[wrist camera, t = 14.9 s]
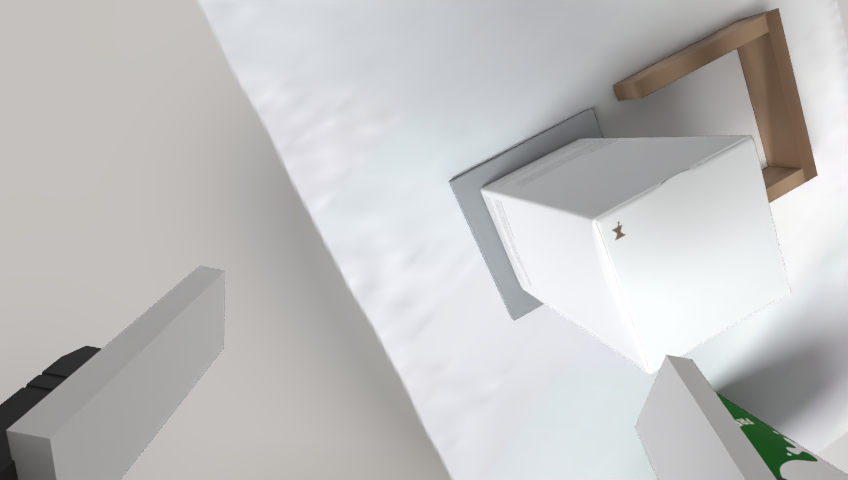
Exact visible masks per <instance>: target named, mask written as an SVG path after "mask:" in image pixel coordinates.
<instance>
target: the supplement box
mask: <svg viewBox="0 0 848 480" xmlns="http://www.w3.org/2000/svg"><path fill="white" fill-rule="evenodd" d="M480 191H481V193H482V196H483V198H484V201H485V203H486V205H487V208H488V210H489V212H490V215H491V217H492V220H493V222H494V224H495V227H496V229H497V231H498V234H499V236H500V239H501V241H502V243H503V246H504V248H505V251H506V253H507V255H508V258H509V260H510V263H511V265H512V267H513V270H514V272H515V274H516V277H517V279H518V281H519V283H520V285H521V287H522V289H523V290H525V291H526V292H528V293H529V294H531V295H532V296H534V297H535V298H537V299H538V300H540V301H541V302H543V303H544V304H546V305H547V306H549V307H550V308H552V309H553V310H555V311H556V312H558V313H559V314H561V315H562V316H564V317H565V318H567V319H568V320H570V321H571V322H573V323H574V324H576V325H577V326H579V327H580V328H582V329H583V330H585V331H586V332H588V333H589V334H591V335H592V336H594V337H595V338H597V339H598V340H600V341H601V342H603V343H604V344H605V345H607V346H608V347H610V348H611V349H613V350H614V351H616V352H617V353H619V354H620V355H622V356H623V357H625V358H626V359H628V360H629V361H631V362H632V363H634V364H635V365H637V366H638V367H639V368H641V369H642V370H644V371H645V372H647V373H648V374H652V373H654V372H656V371H657V370H659V369H660V368H661V365H662V363H663V361H664V358H665V356H666V355H671V356H676V357H681V356H683V355H684V354H686V353H688V352H689V351H691V350H693V349H694V348H696V347H698V346H700V345H701V344H703V343H705V342H706V341H708V340H710V339H712V338H713V337H715V336H717V335H718V334H720V333H722V332H723V331H725V330H727V329H728V328H730V327H732V326H734V325H735V324H737V323H739V322H741V321H742V320H744V319H746V318H747V317H749V316H751V315H753V314H754V313H756V312H758V311H759V310H761V309H763V308H765V307H766V306H768V305H770V304H772V303H773V302H775V301H777V300H779V299H780V298H782V297H784V296H785V295H787V294H789V293H791V290H790V287H789V283H788V278H787V273H786V268H785V265H784V261H783V257H782V253H781V250H780V247H779V243H778V239H777V235H776V230H775V226H774V222H773V219H772V214H771V210H770V205H769V201H768V197H767V192H766V187H765V183H764V179H763V174H762V170H761V166H760V162H759V158H758V154H757V150H756V147H755V143H754V140H753V137H752V136H751V135H730V136H684V137H639V138H588V139H578V140H576V141H574V142H572V143H570V144H568V145H566V146H564V147H562V148H560V149H558V150H556V151H554V152H552V153H550V154H548V155H546V156H544V157H542V158H540V159H538V160H536V161H534V162H532V163H530V164H528V165H526V166H524V167H522V168H520V169H518V170H516V171H514V172H512V173H510V174H508V175H506V176H504V177H502V178H500V179H498V180H496V181H494V182H492V183H490V184H488V185H486V186H484V187H483V188H481V190H480Z"/></svg>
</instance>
